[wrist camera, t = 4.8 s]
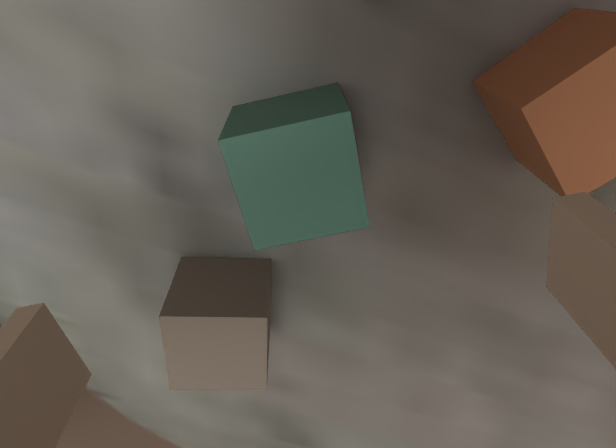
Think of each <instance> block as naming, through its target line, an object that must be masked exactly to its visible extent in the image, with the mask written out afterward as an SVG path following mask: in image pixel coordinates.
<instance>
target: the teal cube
mask: <svg viewBox="0 0 616 448" xmlns="http://www.w3.org/2000/svg"><path fill="white" fill-rule="evenodd" d="M218 142H219V145H220V148H221V151H222V154H223V157H224V160H225V163H226V166H227V169H228V172H229V176H230V179H231V182H232V185H233V188H234V191H235V194H236V197H237V200H238V203H239V206H240V209H241V212H242V215H243V218H244V221H245V224H246V227H247V230H248V233H249V236H250V239H251V242H252V245H253V248H254V251H255V250H260V249H265V248H270V247H275V246H279V245H284V244H289V243H294V242H299V241H304V240H309V239H314V238H319V237H324V236H329V235H334V234H338V233H343V232H348V231H353V230H358V229H363V228H368V227H370V225H369V219H368V213H367V207H366V201H365V195H364V189H363V183H362V177H361V171H360V165H359V159H358V153H357V147H356V141H355V135H354V129H353V123H352V117H351V111H350V109H349V107H348V105H347V102H346V100H345V98H344V96H343V94H342V92H341V89H340V87H339V85H338V83H334V84H329V85H325V86H321V87H316V88H312V89H308V90H303V91H299V92H294V93H290V94H286V95H281V96H277V97H273V98H268V99H264V100H260V101H255V102H251V103H246V104H242V105H238V106H233V108H232V110H231V112H230V114H229V117H228V119H227V121H226V123H225V126H224V128H223V130H222V132H221V135H220V137H219V139H218Z"/></svg>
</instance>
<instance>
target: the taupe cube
mask: <svg viewBox="0 0 616 448" xmlns="http://www.w3.org/2000/svg"><path fill="white" fill-rule="evenodd" d="M270 295H271V259H256V258H212V257H181V260H180V263H179V265H178V268H177V270H176V273H175V276H174V278H173V281H172V284H171V286H170V289H169V291H168V294H167V297H166V299H165V302H164V305H163V307H162V310H161V312H160V315H159V320H160V326H161V333H162V339H163V346H164V353H165V359H166V366H167V373H168V379H169V386H170V390H267V374H268V355H269V336H270Z"/></svg>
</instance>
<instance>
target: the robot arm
mask: <svg viewBox="0 0 616 448" xmlns="http://www.w3.org/2000/svg"><path fill="white" fill-rule="evenodd" d="M546 287H547V288H548V290H549V291H550V292H551V293H552V294H553V295H554V297H555V298H556V299H557V300H558V301H559V303H560V304H561V305H562V306H563V307H564V308H565V310H566V311H567V312H568V313H569V314H570V316H571V317H572V318H573V319H574V320H575V322H576V323H577V324H578V325H579V326H580V327H581V329H582V330H583V331H584V332H585V333H586V335H587V336H588V337H589V338H590V339H591V340H592V342H593V343H594V344H595V345H596V346H597V348H598V349H599V350H600V351H601V352H602V353H603V355H604V356H605V357H606V358H607V359H608V361H609V362H610V363H611V364H612V365H613V367H614V368H615V369H616V213H615V212H613V211H612V210H610V209H609V208H608V207H606V206H605V205H603V204H602V203H600V202H599V201H598V200H596V199H595V198H593V197H592V196H591V195H589V194H588V193H586V192H580V193H575V194H570V195H566V196H561V197H556V198H553V201H552V215H551V228H550V242H549V256H548V270H547V284H546ZM90 376H91V373H90V371H89V370H88V368H87V367H86V365H85V364H84V362H83V361H82V359H81V358H80V356H79V355H78V353H77V352H76V350H75V349H74V347H73V346H72V344H71V343H70V341H69V340H68V338H67V337H66V335H65V334H64V332H63V331H62V329H61V328H60V326H59V325H58V323H57V322H56V320H55V319H54V317H53V316H52V314H51V313H50V311H49V310H48V308H47V307H46V305H45V304H44V303H40V304H35V305H30V306H25V307H20V308H16V310H15V311H14V312H13V313H12V314H11V316H10V317H9V318H8V319H7V321H6V322H5V323H4V324H3V325H2V327H1V328H0V448H55V447H56V445H57V443H58V441H59V439H60V437H61V435H62V433H63V431H64V429H65V427H66V425H67V423H68V421H69V419H70V417H71V415H72V413H73V411H74V409H75V407H76V405H77V402H78V401H79V399H80V397H81V395H82V393H83V390H84V389H85V387H86V385H87V383H88V381H89V378H90Z"/></svg>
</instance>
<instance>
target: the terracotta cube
mask: <svg viewBox="0 0 616 448" xmlns="http://www.w3.org/2000/svg"><path fill="white" fill-rule="evenodd" d="M473 83H474V85H475V87H476V89H477V90H478V92H479V94H480V96H481V98H482V99H483V101H484V103H485V105H486V106H487V108H488V110H489V112H490V114H491V115H492V117H493V119H494V121H495V123H496V124H497V126H498V128H499V130H500V131H501V133H502V135H503V137H504V139H505V140H506V142H507V144H508V146H509V148H510V149H511V151H512V153H513V155H514V156H515V158H516V160H517V161H518V162H519V163H521V164H522V165H523V166H524V167H525V168H527V169H528V170H529V171H530V172H532V173H533V174H534V175H535V176H537V177H538V178H539V179H540V180H542V181H543V182H544V183H545V184H547V185H548V186H549V187H550V188H552V189H553V190H554V191H555V192H556V193H558V194H559V195H560V196H566V195H570V194H575V193H580V192H586V193H590V192H591V191H593V190H595V189H596V188H598V187H600V186H602V185H603V184H605V183H607V182H609V181H610V180H612V179H614V178H615V177H616V12H608V11H599V10H590V9H580V8H575V9H573V10H572V11H570V12H569V13H568V14H566V15H565V16H563V17H562V18H561V19H559V20H558V21H556V22H555V23H554V24H552V25H551V26H549V27H548V28H547V29H545V30H544V31H542V32H541V33H539V34H538V35H537V36H535V37H534V38H532V39H531V40H530V41H528V42H527V43H525V44H524V45H523V46H521V47H520V48H518V49H517V50H516V51H514V52H513V53H511V54H510V55H509V56H507V57H506V58H504V59H503V60H502V61H500V62H499V63H497V64H496V65H494V66H493V67H492V68H490V69H489V70H487V71H486V72H485V73H483V74H482V75H480V76H479V77H478V78H476V79H475V80H473Z"/></svg>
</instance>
